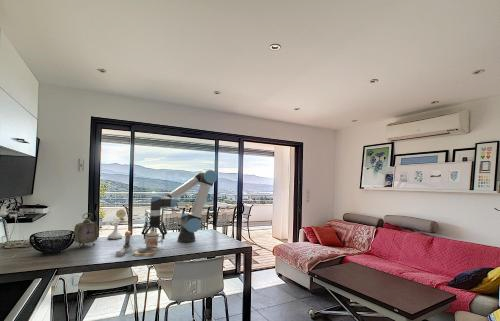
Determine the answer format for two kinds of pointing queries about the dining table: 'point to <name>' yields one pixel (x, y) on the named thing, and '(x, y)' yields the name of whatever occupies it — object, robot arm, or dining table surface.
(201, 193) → the robot arm
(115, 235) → the flower in vase
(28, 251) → the dining table surface
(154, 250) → the press bed
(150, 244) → the teacup with lid
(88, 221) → the tabletop clock
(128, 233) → the lever handle
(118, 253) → the lever track
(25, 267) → the dining table surface
